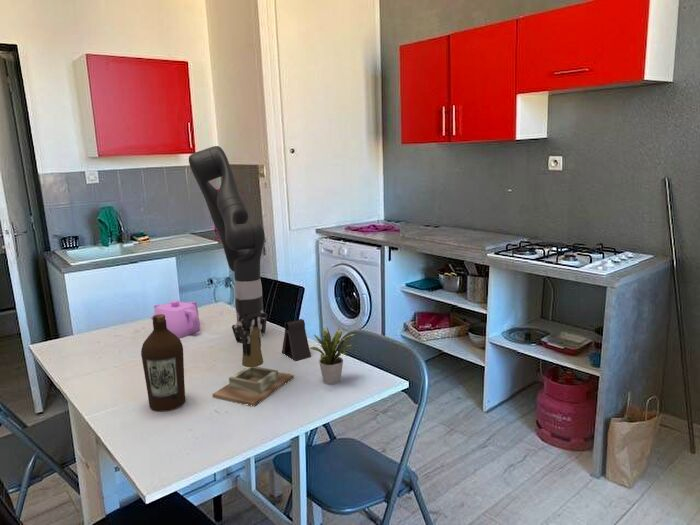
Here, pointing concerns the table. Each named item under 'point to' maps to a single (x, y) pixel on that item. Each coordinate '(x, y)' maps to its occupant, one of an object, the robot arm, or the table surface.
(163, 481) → the table surface
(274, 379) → the socket board
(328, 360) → the house plant
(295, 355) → the phone stand
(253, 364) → the cork
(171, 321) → the teakettle
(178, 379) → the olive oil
